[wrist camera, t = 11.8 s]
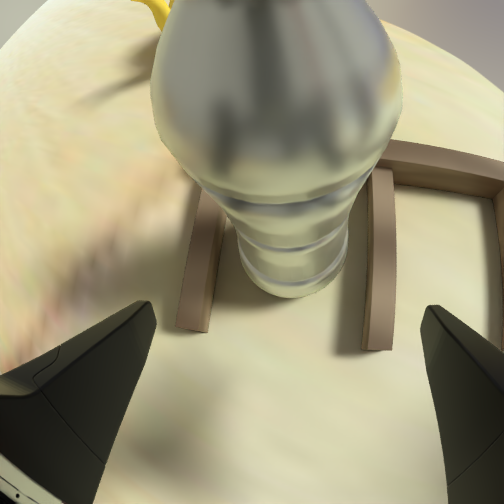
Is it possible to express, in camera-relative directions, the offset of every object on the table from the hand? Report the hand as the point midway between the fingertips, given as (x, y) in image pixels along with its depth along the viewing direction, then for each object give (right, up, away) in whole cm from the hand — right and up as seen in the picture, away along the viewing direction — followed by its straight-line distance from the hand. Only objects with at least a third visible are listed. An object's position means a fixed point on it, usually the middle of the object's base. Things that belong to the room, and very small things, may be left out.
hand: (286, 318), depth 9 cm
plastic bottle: (+2, +2, +11) cm, 12 cm away
